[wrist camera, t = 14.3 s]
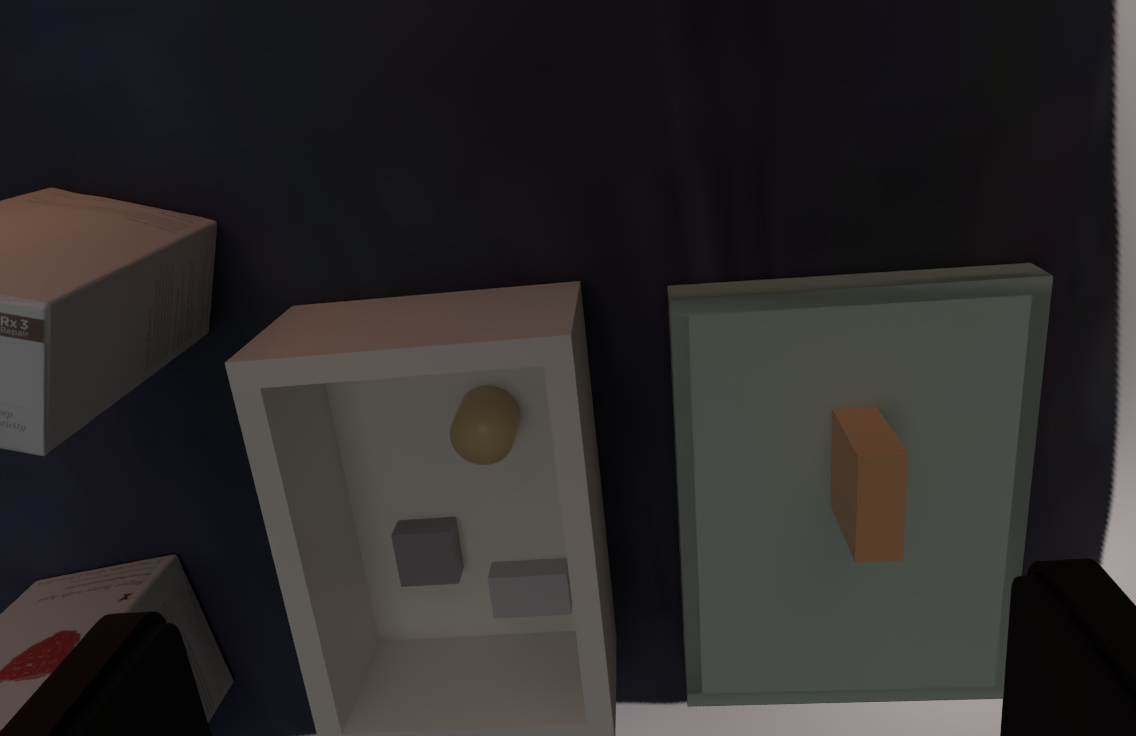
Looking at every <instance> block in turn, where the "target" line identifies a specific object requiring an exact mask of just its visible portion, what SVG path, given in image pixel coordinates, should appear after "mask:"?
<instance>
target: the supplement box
mask: <svg viewBox="0 0 1136 736" xmlns="http://www.w3.org/2000/svg"><path fill="white" fill-rule="evenodd" d="M150 611H155V612H158V613H161V614H162V616H163V617H164V618H165V619H166V621H167V623H172V624H175V625H176V626H177V627H178V628H179V630H180V632H181V635H182V638H183V642H184V645H185V648H186V651H187V655H188V658H189V661H190V665H191V668H192V671H193V675H194V678H195V681H196V685H197V688H198V691H199V695H200V698H201V701H202V705H203V708H204V711H205V715H206V718H207V721H208V723H209V721H210V720H211V718H212V716H213V715H214V713H215V711H216V710H217V708H218V706H219V705H220V703H221V701H222V700H223V698H224V697H225V695H226V693H227V692H228V690H229V689H230V687H231V685H232V684H233V682H234V681H233V678H232V676H231V674H230V672H229V669H228V667H227V665H226V663H225V661H224V658H223V656H222V654H221V652H220V650H219V647H218V645H217V643H216V641H215V638H214V636H213V634H212V632H211V629H210V627H209V625H208V623H207V621H206V618H205V616H204V614H203V612H202V610H201V607H200V605H199V603H198V600H197V598H196V596H195V594H194V592H193V589H192V587H191V585H190V583H189V581H188V578H187V576H186V574H185V572H184V570H183V567H182V565H181V563H180V561H179V558H178V557H177V555H169V556H163V557H158V558H152V559H147V560H142V561H137V562H132V563H126V564H121V565H116V566H110V567H105V568H100V569H95V570H90V571H84V572H79V573H74V574H68V575H63V576H58V577H53V578H48V579H43V580H39V581H36V582H35V583H34V584H33V585H32V586H31V587H29V588H28V589H27V590H26V591H25V592H24V593H23V594H22V595H21V596H20V597H19V598H18V599H17V600H16V601H14V602H13V603H12V604H11V605H10V606H9V607H8V608H7V609H6V610H5V611H4V612H2V613H1V614H0V731H1V730H2V729H3V727H4V726H5V725H6V724H7V723H8V722H9V721H10V720H11V718H12V717H13V716H14V715H15V714H16V713H17V712H18V711H19V709H20V708H21V707H22V706H23V705H24V704H25V703H26V701H27V700H28V699H29V698H30V697H31V696H32V695H33V694H34V692H35V691H36V690H37V689H38V688H39V687H40V686H41V684H42V683H43V682H44V681H45V680H46V679H47V678H48V677H49V675H50V674H51V673H52V672H53V671H54V670H55V669H56V668H57V666H58V665H59V664H60V663H61V662H62V661H63V660H64V658H65V657H66V656H67V655H68V654H69V653H70V652H71V651H72V649H73V648H74V647H75V646H76V645H77V644H78V643H79V642H80V640H81V639H82V638H83V637H84V636H85V635H86V634H87V632H88V631H89V630H90V629H91V628H92V627H93V626H94V625H95V623H96V622H97V621H98V620H99V619H101V618H102V617H103V616H104V615H108V614H115V613H133V612H150Z"/></svg>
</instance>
